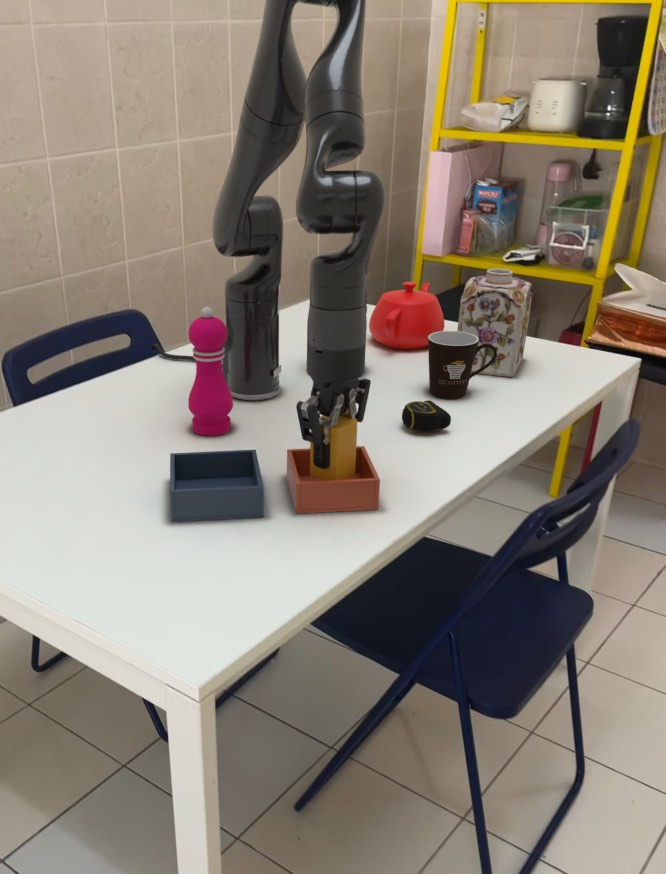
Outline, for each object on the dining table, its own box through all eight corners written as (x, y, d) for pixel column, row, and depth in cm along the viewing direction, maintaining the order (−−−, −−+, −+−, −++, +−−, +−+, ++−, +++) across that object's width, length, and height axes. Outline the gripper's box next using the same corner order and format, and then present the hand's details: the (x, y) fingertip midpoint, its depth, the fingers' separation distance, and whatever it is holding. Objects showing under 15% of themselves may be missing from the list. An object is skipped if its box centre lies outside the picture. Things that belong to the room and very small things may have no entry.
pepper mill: (241, 424, 145) (238, 303, 135) (221, 440, 139) (217, 315, 129) (202, 418, 148) (197, 298, 138) (181, 433, 142) (174, 310, 132)
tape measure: (451, 433, 141) (453, 411, 139) (412, 438, 139) (414, 416, 137) (431, 418, 146) (433, 397, 145) (394, 423, 145) (395, 401, 143)
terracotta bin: (295, 513, 118) (296, 483, 115) (286, 477, 127) (286, 449, 125) (378, 509, 118) (380, 479, 116) (362, 474, 128) (364, 445, 126)
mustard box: (336, 484, 119) (338, 429, 115) (309, 475, 121) (310, 421, 117) (355, 473, 122) (357, 419, 118) (328, 464, 124) (330, 411, 120)
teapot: (424, 363, 171) (429, 300, 165) (349, 352, 177) (352, 292, 171) (459, 329, 190) (465, 272, 184) (391, 321, 196) (395, 265, 190)
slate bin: (172, 521, 116) (169, 491, 114) (172, 481, 126) (170, 453, 124) (263, 517, 117) (263, 487, 115) (256, 477, 127) (255, 449, 125)
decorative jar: (451, 371, 167) (461, 275, 158) (463, 353, 176) (473, 261, 167) (515, 378, 163) (529, 280, 154) (524, 360, 172) (538, 266, 163)
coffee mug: (418, 397, 155) (423, 342, 150) (429, 382, 162) (434, 328, 157) (484, 406, 151) (492, 349, 146) (493, 390, 158) (500, 335, 153)
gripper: (344, 321, 119) (340, 438, 127) (278, 346, 109) (278, 471, 118) (391, 331, 114) (384, 451, 123) (327, 358, 105) (323, 486, 113)
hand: (332, 460), depth 120 cm, fingers closed on mustard box, 4 cm apart
